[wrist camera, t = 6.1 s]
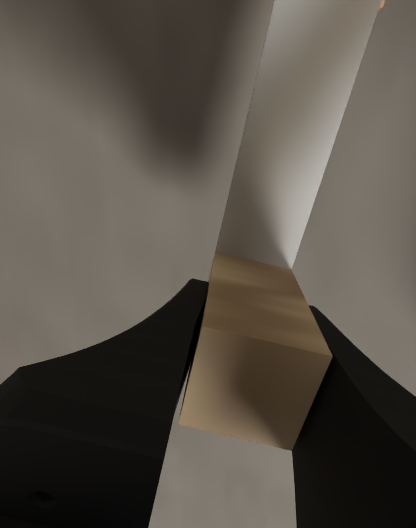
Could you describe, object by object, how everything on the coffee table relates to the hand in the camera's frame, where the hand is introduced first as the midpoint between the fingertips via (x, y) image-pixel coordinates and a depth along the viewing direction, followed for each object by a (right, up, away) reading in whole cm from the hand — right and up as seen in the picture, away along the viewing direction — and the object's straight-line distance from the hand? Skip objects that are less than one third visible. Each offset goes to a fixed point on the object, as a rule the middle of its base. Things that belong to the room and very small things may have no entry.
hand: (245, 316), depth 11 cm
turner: (+1, +5, +1) cm, 5 cm away
